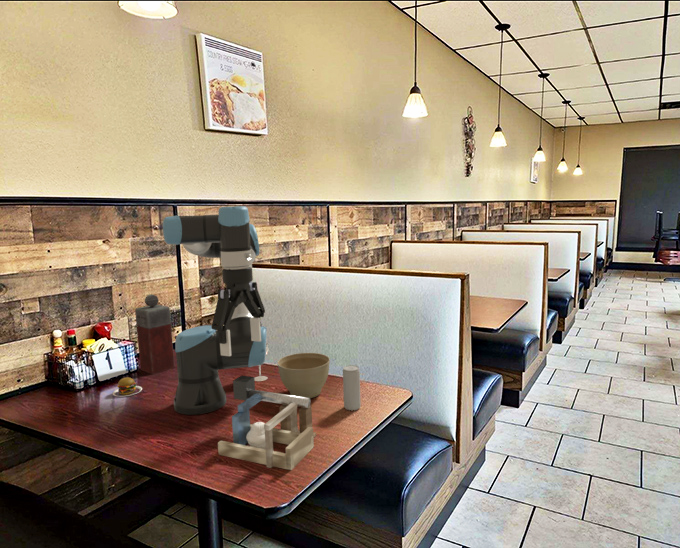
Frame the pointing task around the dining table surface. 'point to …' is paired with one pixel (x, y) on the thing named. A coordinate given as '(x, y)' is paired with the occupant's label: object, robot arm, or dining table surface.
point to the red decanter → (154, 336)
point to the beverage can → (351, 387)
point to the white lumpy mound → (257, 435)
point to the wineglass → (260, 378)
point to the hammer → (247, 392)
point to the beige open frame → (296, 441)
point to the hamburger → (126, 387)
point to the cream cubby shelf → (304, 419)
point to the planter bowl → (304, 373)
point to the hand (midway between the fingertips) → (242, 348)
